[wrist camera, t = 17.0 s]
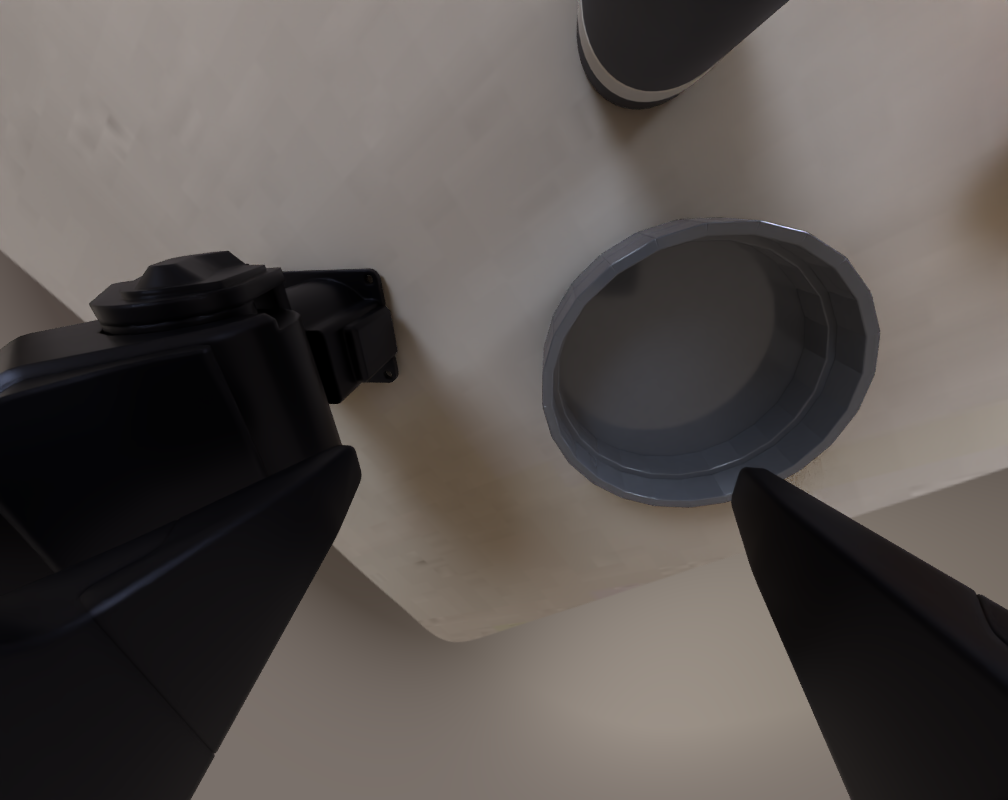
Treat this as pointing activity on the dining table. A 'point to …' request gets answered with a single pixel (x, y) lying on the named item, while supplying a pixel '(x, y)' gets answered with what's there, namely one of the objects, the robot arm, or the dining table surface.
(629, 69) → the canister
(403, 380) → the dining table surface
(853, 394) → the pan
